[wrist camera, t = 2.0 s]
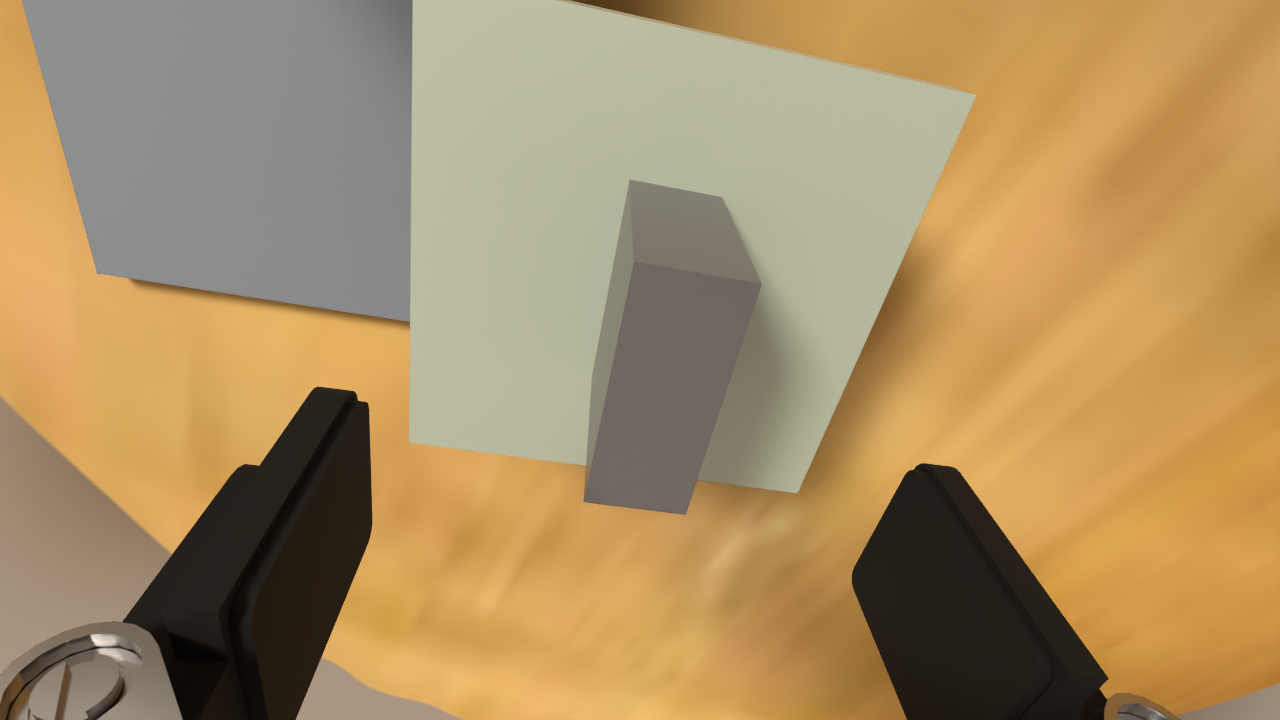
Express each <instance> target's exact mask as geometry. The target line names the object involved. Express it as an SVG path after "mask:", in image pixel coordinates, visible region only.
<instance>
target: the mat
mask: <svg viewBox="0 0 1280 720" xmlns="http://www.w3.org/2000/svg"><path fill="white" fill-rule="evenodd" d="M22 3H23V6H24V10H25V14H26V17H27V21H28V25H29V28H30V32H31V35H32V39H33V43H34V46H35V50H36V53H37V57H38V61H39V64H40V68H41V72H42V75H43V79H44V82H45V86H46V90H47V93H48V97H49V100H50V104H51V108H52V111H53V115H54V118H55V122H56V126H57V129H58V133H59V137H60V140H61V144H62V147H63V151H64V155H65V158H66V162H67V165H68V169H69V173H70V176H71V180H72V184H73V187H74V191H75V194H76V198H77V202H78V205H79V209H80V212H81V216H82V220H83V223H84V227H85V230H86V234H87V238H88V241H89V245H90V249H91V252H92V256H93V259H94V263H95V267H96V270H97V273H98V274H105V275H111V276H118V277H124V278H130V279H137V280H143V281H150V282H156V283H163V284H169V285H176V286H182V287H189V288H195V289H201V290H208V291H214V292H221V293H227V294H234V295H240V296H247V297H253V298H259V299H266V300H272V301H279V302H285V303H292V304H298V305H305V306H311V307H318V308H324V309H330V310H337V311H343V312H350V313H356V314H363V315H369V316H376V317H382V318H388V319H395V320H401V321H408V322H410V274H411V148H412V22H413V0H22Z"/></svg>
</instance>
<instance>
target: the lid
mask: <svg viewBox="0 0 1280 720" xmlns="http://www.w3.org/2000/svg"><path fill="white" fill-rule="evenodd" d="M975 98H976V95H974V94H971V93H969V92H966V91H963V90H960V89H957V88H954V87H950V86H945V85H941V84H937V83H932V82H928V81H923V80H919V79H915V78H910V77H906V76H901V75H897V74H893V73H888V72H884V71H879V70H875V69H871V68H866V67H862V66H857V65H853V64H848V63H844V62H840V61H835V60H831V59H826V58H822V57H818V56H813V55H809V54H804V53H800V52H796V51H791V50H787V49H782V48H778V47H774V46H769V45H765V44H760V43H756V42H751V41H747V40H743V39H738V38H734V37H729V36H725V35H721V34H716V33H712V32H707V31H703V30H699V29H694V28H690V27H685V26H681V25H677V24H672V23H668V22H663V21H659V20H654V19H650V18H646V17H641V16H637V15H632V14H628V13H624V12H619V11H615V10H610V9H606V8H602V7H597V6H593V5H588V4H584V3H580V2H575V1H571V0H413V22H412V148H411V274H410V401H409V443H416V444H424V445H431V446H439V447H447V448H454V449H462V450H470V451H477V452H485V453H493V454H500V455H508V456H516V457H523V458H531V459H538V460H546V461H554V462H561V463H569V464H577V465H584V466H586V474H585V489H584V502H587V503H595V504H603V505H611V506H619V507H627V508H635V509H644V510H652V511H660V512H668V513H676V514H684V515H686V512H687V509H688V506H689V503H690V500H691V497H692V494H693V491H694V488H695V485H696V482H697V480H699V481H707V482H714V483H722V484H730V485H737V486H745V487H753V488H760V489H768V490H776V491H783V492H791V493H798V491H799V489H800V487H801V485H802V482H803V480H804V478H805V476H806V473H807V471H808V469H809V467H810V465H811V462H812V460H813V458H814V456H815V453H816V451H817V449H818V447H819V444H820V442H821V440H822V438H823V436H824V433H825V431H826V429H827V427H828V424H829V422H830V420H831V418H832V416H833V413H834V411H835V409H836V407H837V404H838V402H839V400H840V398H841V396H842V393H843V391H844V389H845V387H846V384H847V382H848V380H849V378H850V376H851V373H852V371H853V369H854V367H855V364H856V362H857V360H858V358H859V356H860V353H861V351H862V349H863V347H864V344H865V342H866V340H867V338H868V336H869V333H870V331H871V329H872V327H873V324H874V322H875V320H876V318H877V316H878V313H879V311H880V309H881V307H882V304H883V302H884V300H885V298H886V295H887V293H888V291H889V289H890V287H891V284H892V282H893V280H894V278H895V275H896V273H897V271H898V269H899V267H900V264H901V262H902V260H903V258H904V255H905V253H906V251H907V249H908V247H909V244H910V242H911V240H912V238H913V235H914V233H915V231H916V229H917V227H918V224H919V222H920V220H921V218H922V215H923V213H924V211H925V209H926V207H927V204H928V202H929V200H930V198H931V195H932V193H933V191H934V189H935V187H936V184H937V182H938V180H939V178H940V175H941V173H942V171H943V169H944V167H945V164H946V162H947V160H948V158H949V155H950V153H951V151H952V149H953V147H954V144H955V142H956V140H957V138H958V135H959V133H960V131H961V129H962V126H963V124H964V122H965V120H966V118H967V115H968V113H969V111H970V109H971V106H972V104H973V102H974V100H975Z"/></svg>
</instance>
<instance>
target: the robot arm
mask: <svg viewBox="0 0 1280 720" xmlns="http://www.w3.org/2000/svg"><path fill="white" fill-rule="evenodd" d="M371 529H372V494H371V460H370V427H369V406H368V403H367V402H362V401H358V399H357V395H356V393H355V392H354V391H348V390H340V389H332V388H324V387H316V388H314V389H313V390H312V391H311V393H310V394H309V395H308V397H307V398H306V400H305V401H304V403H303V404H302V406H301V407H300V408H299V410H298V411H297V413H296V414H295V416H294V417H293V418H292V420H291V421H290V423H289V424H288V426H287V427H286V428H285V430H284V431H283V433H282V434H281V436H280V437H279V438H278V440H277V441H276V443H275V444H274V446H273V447H272V449H271V450H270V451H269V453H268V454H267V456H266V457H265V459H264V460H263V461H262V463H261V464H260V466H257V465H248V464H244V465H242V466H240V467H238V468H237V469H236V471H235V472H234V473H233V474H232V475H231V476H230V477H229V479H228V480H227V481H226V483H225V484H224V485H223V487H222V488H221V490H220V491H219V492H218V494H217V495H216V496H215V498H214V499H213V500H212V502H211V503H210V504H209V506H208V507H207V508H206V510H205V511H204V512H203V514H202V515H201V516H200V518H199V519H198V521H197V522H196V523H195V525H194V526H193V527H192V529H191V530H190V531H189V533H188V534H187V535H186V537H185V538H184V539H183V541H182V542H181V543H180V545H179V546H178V548H177V549H176V550H175V552H174V553H173V554H172V556H171V557H170V558H169V560H168V561H167V563H166V564H165V565H164V566H163V568H162V569H161V571H160V572H159V573H158V575H157V576H156V577H155V579H154V580H153V581H152V583H151V584H150V585H149V587H148V588H147V590H146V591H145V592H144V594H143V595H142V596H141V598H140V599H139V600H138V602H137V603H136V604H135V606H134V607H133V608H132V610H131V611H130V612H129V614H128V615H127V617H126V618H125V619H124V620H123V622H122V623H121V622H115V621H113V622H103V623H93V624H88V625H84V626H81V627H77V628H74V629H71V630H68V631H64V632H62V633H60V634H58V635H56V636H54V637H51V638H49V639H47V640H45V641H43V642H41V643H39V644H37V645H35V646H34V647H33V648H31V649H30V650H28V651H27V652H26V653H24V654H23V655H21V656H20V657H19V658H17V659H16V660H15V661H13V662H12V663H11V664H10V665H9V666H8V667H7V668H6V669H5V670H4V671H3V672H2V673H1V674H0V720H296V717H297V715H298V712H299V710H300V708H301V705H302V702H303V700H304V698H305V696H306V693H307V691H308V688H309V686H310V683H311V681H312V678H313V676H314V673H315V671H316V669H317V666H318V664H319V661H320V659H321V657H322V654H323V652H324V649H325V647H326V644H327V642H328V640H329V637H330V635H331V632H332V630H333V627H334V625H335V623H336V620H337V618H338V615H339V613H340V610H341V608H342V605H343V603H344V601H345V598H346V596H347V593H348V591H349V588H350V586H351V584H352V581H353V579H354V576H355V574H356V571H357V569H358V567H359V564H360V562H361V559H362V557H363V554H364V552H365V549H366V547H367V544H368V542H369V538H370V534H371ZM852 585H853V589H854V592H855V594H856V596H857V599H858V601H859V604H860V606H861V609H862V611H863V613H864V616H865V618H866V621H867V623H868V626H869V628H870V630H871V633H872V635H873V638H874V640H875V643H876V645H877V647H878V650H879V652H880V655H881V657H882V660H883V662H884V664H885V667H886V669H887V672H888V674H889V677H890V679H891V681H892V684H893V686H894V689H895V691H896V694H897V696H898V698H899V701H900V703H901V706H902V708H903V711H904V713H905V715H906V718H907V720H1181V719H1179V718H1178V717H1176V716H1175V715H1174V714H1172V713H1171V712H1169V711H1168V710H1166V709H1165V708H1164V707H1162V706H1160V705H1158V704H1156V703H1154V702H1152V701H1150V700H1148V699H1146V698H1144V697H1141V696H1137V695H1134V694H1130V693H1116V694H1114V695H1113V696H1111V697H1110V698H1108V699H1106V698H1105V696H1104V695H1103V693H1102V692H1101V691H1100V689H1099V688H1100V687H1101V686H1102V685H1103V684H1104V683H1105V682H1106V681H1107V680H1108V679H1109V678H1108V677H1107V676H1106V674H1105V673H1104V671H1103V670H1102V669H1101V667H1100V666H1099V664H1098V663H1097V662H1096V660H1095V659H1094V658H1093V656H1092V655H1091V653H1090V652H1089V651H1088V649H1087V648H1086V646H1085V645H1084V644H1083V642H1082V641H1081V640H1080V638H1079V637H1078V635H1077V634H1076V633H1075V631H1074V630H1073V628H1072V627H1071V626H1070V624H1069V623H1068V622H1067V620H1066V619H1065V617H1064V616H1063V615H1062V613H1061V612H1060V610H1059V609H1058V608H1057V606H1056V605H1055V604H1054V602H1053V601H1052V599H1051V598H1050V597H1049V595H1048V594H1047V592H1046V591H1045V590H1044V588H1043V587H1042V586H1041V584H1040V583H1039V581H1038V580H1037V579H1036V577H1035V576H1034V574H1033V573H1032V572H1031V570H1030V569H1029V568H1028V566H1027V565H1026V563H1025V562H1024V561H1023V559H1022V558H1021V556H1020V555H1019V554H1018V552H1017V551H1016V550H1015V548H1014V547H1013V545H1012V544H1011V543H1010V541H1009V540H1008V538H1007V537H1006V536H1005V534H1004V533H1003V532H1002V530H1001V529H1000V527H999V526H998V525H997V523H996V522H995V520H994V519H993V518H992V516H991V515H990V514H989V512H988V511H987V509H986V508H985V507H984V505H983V504H982V502H981V501H980V500H979V498H978V497H977V496H976V494H975V493H974V491H973V490H972V489H971V487H970V486H969V484H968V483H967V482H966V480H965V479H964V478H963V476H962V475H961V473H960V472H959V471H958V470H957V469H956V468H953V467H949V466H941V465H933V464H925V463H924V464H919V465H918V466H916V467H915V469H914V470H910V471H908V472H907V473H906V475H905V476H904V478H903V480H902V481H901V483H900V485H899V487H898V489H897V490H896V492H895V494H894V496H893V498H892V499H891V501H890V503H889V505H888V507H887V509H886V510H885V512H884V514H883V516H882V518H881V519H880V521H879V523H878V525H877V527H876V529H875V530H874V532H873V534H872V536H871V538H870V539H869V541H868V543H867V545H866V547H865V549H864V550H863V552H862V554H861V556H860V558H859V559H858V561H857V563H856V565H855V567H854V569H853V573H852Z"/></svg>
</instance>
